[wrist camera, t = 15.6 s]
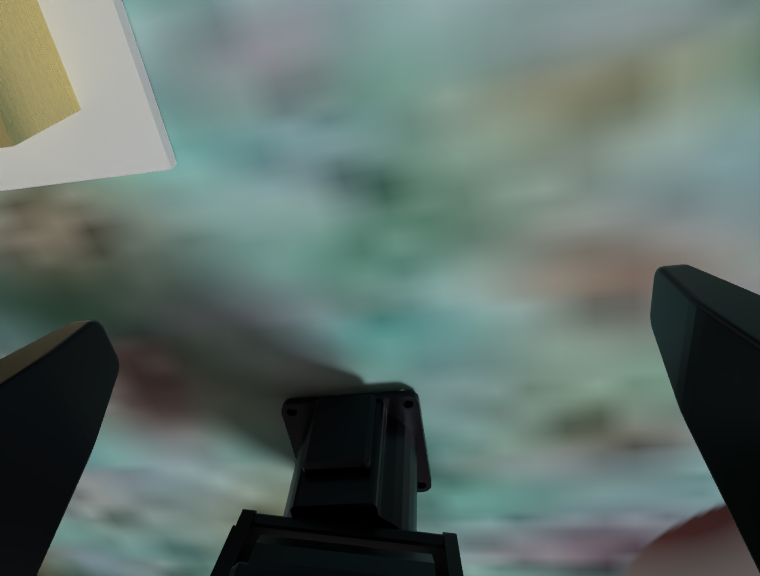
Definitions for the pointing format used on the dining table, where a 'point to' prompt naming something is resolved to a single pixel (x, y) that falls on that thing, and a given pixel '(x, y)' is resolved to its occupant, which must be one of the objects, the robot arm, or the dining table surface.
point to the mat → (93, 104)
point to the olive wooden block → (30, 74)
